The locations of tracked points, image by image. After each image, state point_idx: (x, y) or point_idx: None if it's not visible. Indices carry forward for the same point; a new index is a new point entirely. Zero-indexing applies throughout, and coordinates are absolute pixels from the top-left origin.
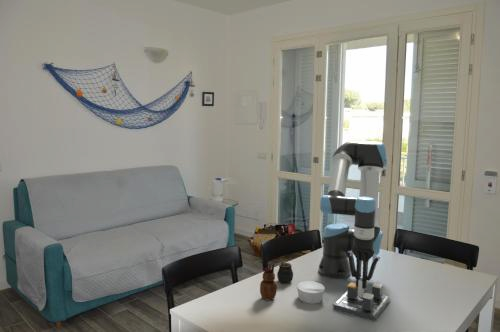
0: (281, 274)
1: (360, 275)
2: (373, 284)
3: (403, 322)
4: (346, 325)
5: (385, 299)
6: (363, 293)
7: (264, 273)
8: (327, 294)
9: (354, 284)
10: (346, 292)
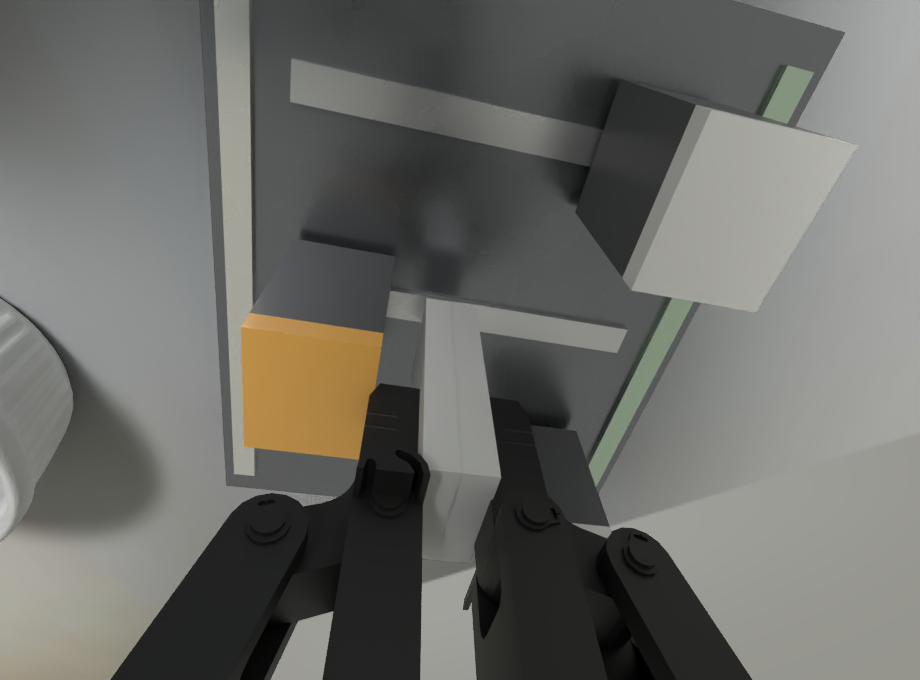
0: None
1: (416, 549)
2: (653, 253)
3: (786, 425)
4: None
5: None
6: (475, 322)
7: None
8: (6, 179)
9: (328, 385)
10: (226, 191)
